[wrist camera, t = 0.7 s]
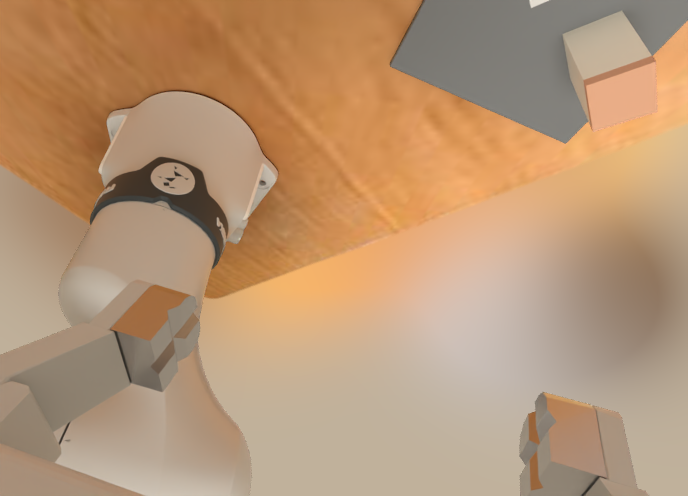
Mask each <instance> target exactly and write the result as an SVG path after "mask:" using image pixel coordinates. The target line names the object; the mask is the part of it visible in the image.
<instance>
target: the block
mask: <svg viewBox="0 0 688 496" xmlns="http://www.w3.org/2000/svg"><path fill="white" fill-rule="evenodd" d="M562 35H563V41H564V46H565V52H566V58H567V63H568V69H569V75H570V79H571V81H572V84H573V86H574V89H575V91H576V93H577V96H578V98H579V100H580V103H581V105H582V107H583V110H584V112H585V114H586V117H587V119H588V121H589V124H590V126H591V129H592V131H593V132H595V131H598V130H601V129H605V128H608V127H611V126H614V125H617V124H621V123H624V122H627V121H630V120H633V119H637V118H640V117H643V116H646V115H649V114H653V113H656V112H658V110H657V80H656V61H655V59H654V58H653V56H652V55H651V53H650V52H649V50H648V49H647V47H646V46H645V44H644V43H643V41H642V40H641V38H640V37H639V35H638V34H637V32H636V31H635V29H634V28H633V26H632V25H631V23H630V22H629V20H628V19H627V17H626V16H625V14H624V13H623V11H619V12H617V13H614V14H612V15H609V16H607V17H604V18H602V19H599V20H597V21H594V22H592V23H589V24H587V25H584V26H581V27H579V28H576V29H574V30H571V31H569V32H566V33H564V34H562Z"/></svg>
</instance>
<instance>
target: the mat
mask: <svg viewBox="0 0 688 496" xmlns="http://www.w3.org/2000/svg"><path fill="white" fill-rule="evenodd" d="M619 11H623V13H624V14H625V16H626V17H627V19H628V20H629V22H630V23H631V25H632V26H633V28H634V29H635V31H636V32H637V34H638V35H639V37H640V38H641V40H642V41H643V43H644V44H645V46H646V47H647V49H648V50H649V52H650V53H651V55H652V56H653V55H654V54H655V53H656V52H657V51H658V50H659V49H660V48H661V47H662V46H663V45H664V44H665V43H666V42H667V41H668V40H669V39H670V38H671V37H672V36H673V35H674V34H675V33H676V32H677V31H678V30H679V29H680V28H681V27H682V26H683V24H684V23H685V22H686V21H687V20H688V0H423V2H422V4H421V6H420V8H419V10H418V11H417V13H416V15H415V17H414V19H413V21H412V23H411V25H410V27H409V28H408V30H407V32H406V34H405V36H404V38H403V40H402V42H401V43H400V45H399V47H398V49H397V51H396V53H395V55H394V57H393V59H392V60H391V62H390V67H392V68H395V69H397V70H399V71H402V72H404V73H406V74H408V75H411V76H413V77H415V78H417V79H420V80H422V81H424V82H427V83H429V84H431V85H433V86H436V87H438V88H440V89H443V90H445V91H447V92H449V93H452V94H454V95H456V96H458V97H461V98H463V99H465V100H468V101H470V102H472V103H474V104H477V105H479V106H481V107H484V108H486V109H488V110H490V111H493V112H495V113H497V114H499V115H502V116H504V117H506V118H509V119H511V120H513V121H515V122H518V123H520V124H522V125H524V126H527V127H529V128H531V129H534V130H536V131H538V132H540V133H543V134H545V135H547V136H550V137H552V138H554V139H556V140H559V141H561V142H563V143H565V144H566V143H567V142H568V141H569V140H570V139H571V138H572V137H573V136H574V135H575V134H576V133H577V132H578V131H579V130H580V129H581V128H582V127H583V126H584V125H585V124H586V123H587V122H588V119H587V117H586V114H585V112H584V110H583V107H582V105H581V103H580V100H579V98H578V96H577V93H576V91H575V89H574V86H573V84H572V81H571V79H570V75H569V69H568V63H567V58H566V52H565V46H564V41H563V35H562V34H564V33H566V32H569V31H571V30H574V29H576V28H579V27H581V26H584V25H587V24H589V23H592V22H594V21H597V20H599V19H602V18H604V17H607V16H609V15H612V14H614V13H617V12H619Z"/></svg>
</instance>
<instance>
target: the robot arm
mask: <svg viewBox="0 0 688 496" xmlns="http://www.w3.org/2000/svg"><path fill="white" fill-rule="evenodd" d="M107 128H108V132H109V137H110V141H111V144H110V146H109V148H108V150H107V152H106V154H105V156H104V158H103V160H102V162H101V164H100V167H99V173H100V174H101V176H102V182H103V185H104V187H105V189H104V191H103V192H102V193H101V194H100V195H99V197H98V199H97V201H96V203H95V206H94V210H93V212H92V214H91V218H90V225H91V226H90V228H89V229H88V231H87V233H86V234H85V236H84V238H83V240H82V241H81V243H80V245H79V247H78V249H77V250H76V252H75V254H74V256H73V258H72V259H71V261H70V263H69V264H68V266H67V268H66V270H65V272H64V273H63V275H62V277H61V280H60V284H59V292H58V296H59V303H60V306H61V309H62V312H63V314H64V316H65V317H66V319H67V321H68V322H69V323H70V325H71V326H72V327H70V328H67V329H65V330H62V331H60V332H57V333H55V334H52V335H50V336H47V337H44V338H42V339H40V340H37V341H34V342H32V343H29V344H27V345H24V346H21V347H19V348H17V349H14V350H11V351H9V352H6V353H4V354H1V355H0V496H249V493H250V488H251V478H252V472H251V471H252V470H251V459H250V453H249V450H248V446H247V443H246V440H245V438H244V436H243V433H242V432H241V430H240V428H239V427H238V425H237V424H236V423H235V422H234V421H233V420H232V418H231V417H230V416H229V415H228V414H227V413H226V411H225V410H224V409H223V407H222V406H221V404H220V403H219V401H218V400H217V398H216V397H215V394H214V393H213V391H212V389H211V387H210V385H209V382H208V380H207V378H206V375H205V372H204V369H203V366H202V362H201V358H200V354H199V345H198V337H199V332H200V322H199V318H200V313H201V308H202V303H203V299H204V295H205V291H206V287H207V283H208V279H209V276H210V273H211V270H212V269H213V268H214V267H215V266H216V265H217V263H218V261H219V259H220V257H221V255H222V253H223V251H224V248H225V245H226V242H227V241H229V242H232V243H234V244H238V243H239V241H240V239H241V237H242V235H243V232H244V229H245V227H246V225H247V223H248V217H249V216H250V215H251V213H252V212H253V211H254V209H255V208H256V207H257V206H258V204H259V203H260V202H261V200H262V199H263V198H264V196H265V195H266V194H267V193H268V191H269V190H270V189H271V187H272V186H273V185H274V183H275V182H276V180H277V177H278V171H277V169H276V168H275V167H274V165H273V164H272V163H271V162H270V161H269V160H268V159H267V158H266V157H265V156H264V155H263V153H262V151H261V149H260V146H259V144H258V142H257V139H256V137H255V136H254V134H253V132H252V131H251V129H250V128H249V127H248V125H247V124H246V123H245V122H244V121H243V120H242V119H241V118H240V117H239V116H238V115H237V114H235V113H234V112H233V111H232V110H230V109H229V108H227V107H226V106H224V105H222V104H221V103H219V102H217V101H215V100H212V99H210V98H208V97H205V96H202V95H198V94H194V93H189V92H177V91H175V92H164V93H160V94H156V95H153V96H151V97H149V98H147V99H146V100H144V101H143V102H141V103H140V104H139V105H137V106H136V107H133V108H129V109H121V110H116V111H113V112H111V113H110V114H109V117H108V119H107ZM261 180H263V181H265V182H263V181H261ZM535 410H536V411H535V412H532V413H530V414H528V416H527V418H526V420H525V422H524V424H523V428H522V432H521V436H520V457H521V459H522V461H523V462H524V464H525V465H526V466H525V468H524V470H523V471H522V473H521V475H520V496H649V495H648V494H647V492H646V491H643V490H641V489H638V488H637V484H636V479H635V475H634V470H633V465H632V461H631V456H630V452H629V447H628V443H627V438H626V434H625V429H624V424H623V420H622V417H621V415H620V414H619V413H618V412H615V411H611V410H608V409H604V408H600V407H597V406H591V405H590V404H587V403H583V402H579V401H575V400H572V399H568V398H564V397H560V396H556V395H553V394H548V393H545V392H543V393H541V394H540V395H539V396H538V398H537V400H536V401H535Z"/></svg>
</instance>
